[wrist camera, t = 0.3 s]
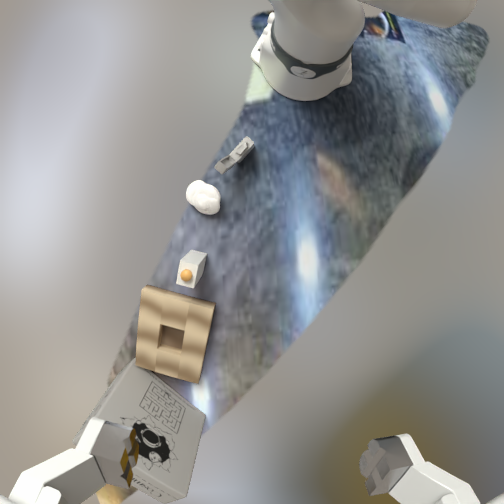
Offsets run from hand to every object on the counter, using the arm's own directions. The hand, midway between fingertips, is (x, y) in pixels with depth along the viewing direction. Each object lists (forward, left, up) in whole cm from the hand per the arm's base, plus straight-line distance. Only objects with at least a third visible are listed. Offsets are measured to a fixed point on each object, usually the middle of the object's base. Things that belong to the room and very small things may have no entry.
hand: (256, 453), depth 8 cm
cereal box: (+42, -13, -47) cm, 64 cm away
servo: (+8, -10, -47) cm, 48 cm away
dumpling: (-4, -11, -47) cm, 48 cm away
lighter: (-12, -7, -47) cm, 49 cm away
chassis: (+24, -12, -47) cm, 54 cm away
